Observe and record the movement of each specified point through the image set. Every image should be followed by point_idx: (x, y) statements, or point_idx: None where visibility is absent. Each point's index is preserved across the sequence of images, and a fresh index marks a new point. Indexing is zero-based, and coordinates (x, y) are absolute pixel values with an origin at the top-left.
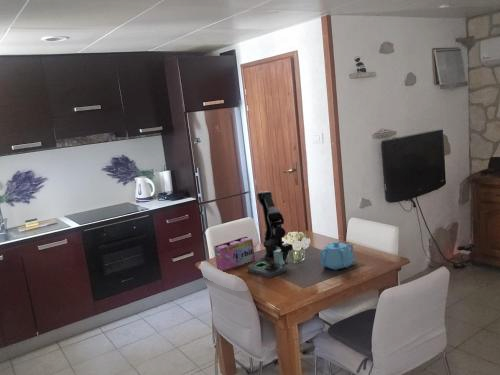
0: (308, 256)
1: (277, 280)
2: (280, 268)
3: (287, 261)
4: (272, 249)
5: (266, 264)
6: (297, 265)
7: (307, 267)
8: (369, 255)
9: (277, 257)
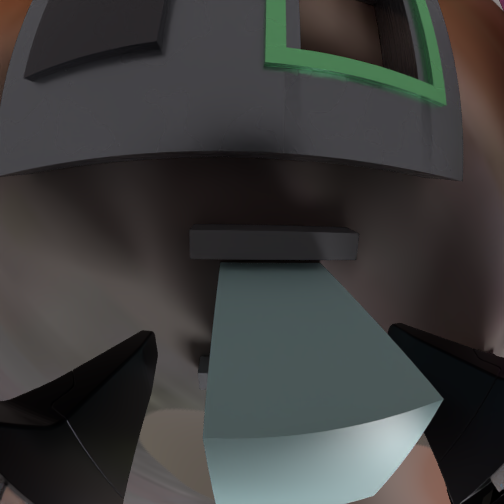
0: (191, 490)
1: (6, 16)
2: (8, 97)
3: (200, 385)
4: (483, 419)
5: (314, 54)
6: (75, 364)
7: (3, 352)
8: None
9: (261, 325)
